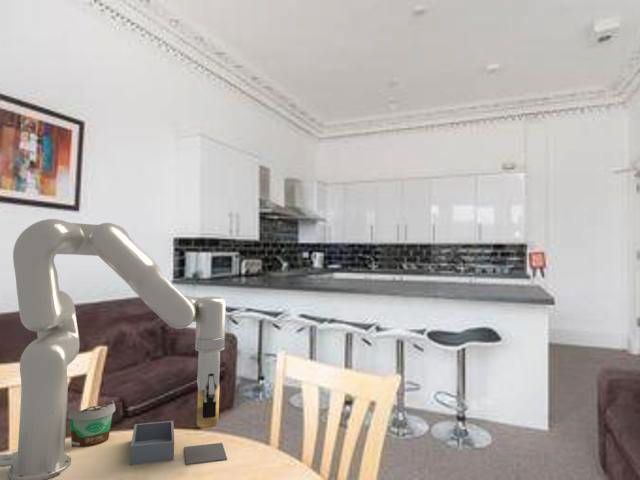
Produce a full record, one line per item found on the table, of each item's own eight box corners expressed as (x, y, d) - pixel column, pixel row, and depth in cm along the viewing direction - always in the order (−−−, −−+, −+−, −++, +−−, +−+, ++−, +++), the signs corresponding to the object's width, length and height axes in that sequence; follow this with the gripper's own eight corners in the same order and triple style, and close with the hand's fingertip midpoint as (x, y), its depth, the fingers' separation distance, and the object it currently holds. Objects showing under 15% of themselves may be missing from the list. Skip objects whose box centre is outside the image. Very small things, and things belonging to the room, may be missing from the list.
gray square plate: (186, 467, 107) (186, 463, 107) (184, 449, 116) (184, 446, 116) (226, 461, 110) (227, 458, 110) (222, 445, 119) (222, 442, 119)
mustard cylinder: (197, 428, 110) (198, 389, 110) (196, 421, 115) (197, 383, 116) (219, 426, 112) (220, 387, 112) (217, 418, 117) (218, 381, 117)
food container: (76, 455, 111) (78, 415, 111) (65, 448, 115) (67, 410, 115) (122, 440, 121) (124, 404, 121) (111, 434, 124) (113, 399, 125)
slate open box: (129, 467, 106) (130, 446, 106) (133, 442, 119) (134, 424, 120) (173, 461, 109) (174, 441, 109) (172, 438, 123) (173, 420, 123)
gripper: (193, 338, 121) (191, 403, 120) (197, 351, 105) (195, 426, 104) (220, 337, 124) (218, 401, 123) (228, 349, 108) (226, 423, 107)
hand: (207, 412), depth 114 cm, fingers closed on mustard cylinder, 5 cm apart
